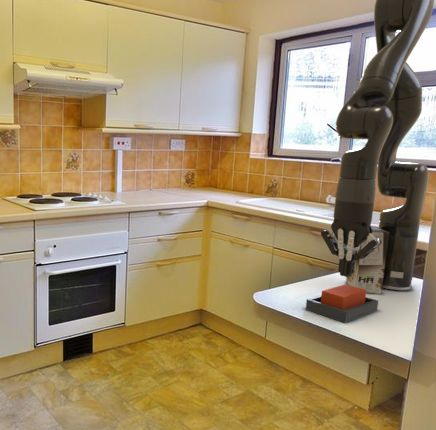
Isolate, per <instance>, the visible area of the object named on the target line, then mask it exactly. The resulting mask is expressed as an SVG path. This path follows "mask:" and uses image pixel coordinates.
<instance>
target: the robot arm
mask: <svg viewBox="0 0 436 430" xmlns="http://www.w3.org/2000/svg"><path fill="white" fill-rule="evenodd" d="M434 6H435V0H375V3H374V7H373V9H374V10H373V23H374V24H373V25H374V33H375V34H374V35H375V44H376V45H375V46H376V54H375V55H373V57H372V58H371V59H370V61H369V62H368V63H367V65H366V67H365V69H364V72H363V74H362V76H361V78H360V82H359V84H358V87H357V89H356V90H355V91H354V92H353V94H352V95H351V96H350V98H348V100H347V102H346V103H345V104H344V105H343V106H342V108H341V109H340V111H339V112H338V115H337V117H336V121H335V131H336V133H337V135H338V136H339V137H340V138H342V139H345V140H367V142H366V143H365V144H364V146H363V147H361V148H359V149H353V150H348V151H345V152H344V153H343V154H342V156H341V159H340V168H339V169H340V170H339V176H338V182H337V186H336V192H335V199H334V200H335V201H334V209H333V221H332V223H331V224H330V227H329V228H328V229H326V230H321V232H320V235H321V237H322V239H323V241H324V242H325V244H326V246H327V247H328V250H329V251H330V253H331V255H333V256H337V257H338V259H339V262H338V268H337V271H338V274H339V276H341V277H344V278H346V277H349V276H351V275H352V274H353V273H354V268H355V261H356V260H360V259H364V258H365V257H366V256H368V255H369V254H370V253H371V252H372V251H373V250H375V249H376V248H377V247H378V246H379V245H380V244H381V243H382V241H381V240H380V239H376V238H375V237H374V236H373V235H372V229H371V226H372V220H373V215H374V212H373V211H374V205H375V197H376V187H377V190H378V193H379V194H380V195H381V196H384V197H389V198H400V199H405V202H404V203H403V204H402V205H401V206H398V207H395V208H390V209H385V210H382V211H381V212H380V213H379V219H378V220H379V221H378V225H377V227H378V228H380V229H383V230H385V231H387V232H389V238H388V245H387V253H386V260H385V267H384V275H383V283H382V289H386V290H391V291H392V290H393V291H403V292H404V291H410V290H412V282H413V278H414V267H415V260H416V253H417V247H418V240H419V239H418V238H419V231H420V225H421V219H422V215H423V210H424V204H425V198H426V193H427V190H428V184H429V169H428V167H427V165H426V164H423V163H415V162H398V161H397V153H398V149H399V147H400V145H401V144H402V142H403V140H404V138H405V137H406V136H407V135H408V133H409V132H410V131H411V129H412V128H413V127H414V125H415V124H416V123H417V121H418V120H419V118H420V116H421V114H422V110H423V85H422V82H421V79H420V78H419V76H418V75H417V74H416V73H415V71H414V69H412V67H411V66H410V65H409V64H408V62H407V61H408V59H409V57H410V56H411V54H412V52H413V51H414V49H415V47H416V46H417V44H418V42H419V41H420V39H421V36H422V35H423V34H424V31H425V29H426V28H427V26H428V24H429V22H430V20H431V18H432V16H433V15H432V14H433V12H434ZM396 33H397V34H396ZM376 184H377V186H376ZM366 239H367V241H366V244H367V245H366V246H365V247H364V248H363V249H361V250H360V251H359V249H360V245H361V244H362V243H363V242H364V241H365V240H366ZM358 251H359V252H358Z"/></svg>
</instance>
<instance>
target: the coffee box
mask: <svg viewBox="0 0 436 430" xmlns="http://www.w3.org/2000/svg"><path fill="white" fill-rule="evenodd" d="M371 229H372V235H373V236H374V237H375V238H376V239H380V240H381V241H382V243H381V244H380V245H379V246H378V247H377V248H376V249H375V250H373V251H372V252H371V253H370V254H369V255H368V256H366V257H365V258H364V259H360V260H356V261H355V268H354V273H353V274H352V275H351V276H349V277H345V284H346V285H350V286H353V287H357V288H361V289H364V290H366V294H367V293H370V294H376V295H377V294H378V295H381V294H382V289H383V288H382V283H383V275H384V267H385V260H386V253H387V245H388V238H389V232H387V231H385V230H383V229H380V228H378V226H372V225H371ZM366 241H367V239H366V240H365V241H364V242H363V243H362V244H361V245H360V249H359V251H360V250H361V249H363V248H364V247H365V246H366V245H367V244H366ZM359 251H358V252H359Z"/></svg>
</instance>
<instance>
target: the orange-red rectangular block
mask: <svg viewBox="0 0 436 430" xmlns="http://www.w3.org/2000/svg"><path fill="white" fill-rule="evenodd" d="M320 295H321V303H323V304H326V305H330V306H333V307H336V308H339V309H342V310H347V309H350V308H353V307H356V306H359V305H361V304H364V303H365V297H367V292H366V290H364V289H361V288H357V287H353V286H350V285H349V284H347V283H345V284H341V285H337V286H335V287H331V288H327V289H324V290H322V291H321V294H320Z"/></svg>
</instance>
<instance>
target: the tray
mask: <svg viewBox="0 0 436 430" xmlns="http://www.w3.org/2000/svg"><path fill="white" fill-rule="evenodd" d="M321 295H322V294H320V295H316V296H314V297H310V298H306V301H305V302H306V303H305V310H306V311H309V312H312V313H315V314H318V315H321V316H324V317H327V318H330V319H332V320H335V321H339V322H342V323H345V324H346V323H348V322H351V321H353V320H357V319H359V318H361V317H364V316H366V315H367V316H368V315H370V314H372V313H374V312H377V311H378V307H379V300H378V299H375V298H371V297H367V296H366V297H365V303H364V304H361V305H359V306H356V307H353V308H350V309H347V310H342V309H339V308H336V307H333V306H330V305H326V304H323V303H321Z"/></svg>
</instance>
